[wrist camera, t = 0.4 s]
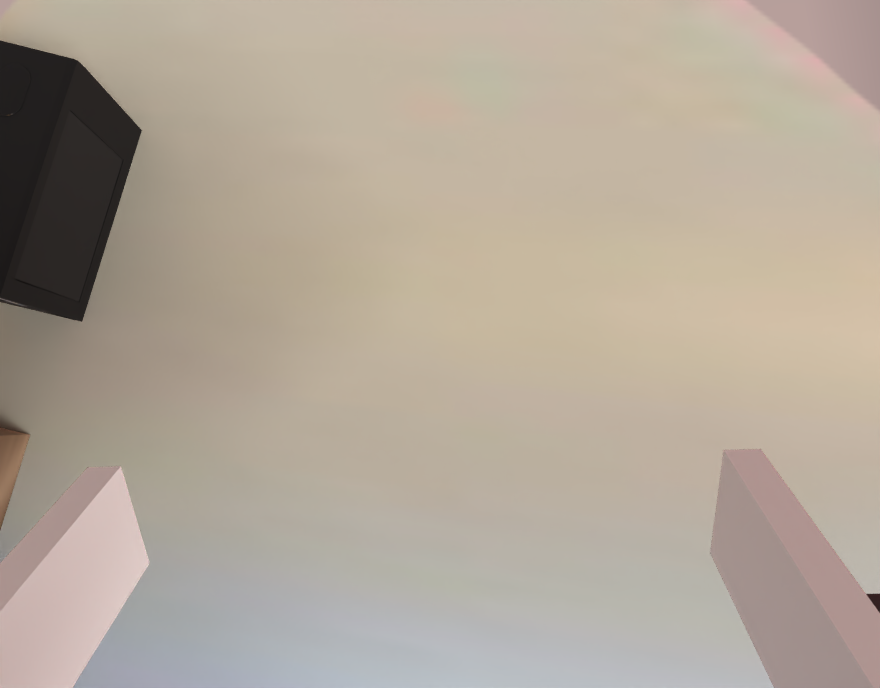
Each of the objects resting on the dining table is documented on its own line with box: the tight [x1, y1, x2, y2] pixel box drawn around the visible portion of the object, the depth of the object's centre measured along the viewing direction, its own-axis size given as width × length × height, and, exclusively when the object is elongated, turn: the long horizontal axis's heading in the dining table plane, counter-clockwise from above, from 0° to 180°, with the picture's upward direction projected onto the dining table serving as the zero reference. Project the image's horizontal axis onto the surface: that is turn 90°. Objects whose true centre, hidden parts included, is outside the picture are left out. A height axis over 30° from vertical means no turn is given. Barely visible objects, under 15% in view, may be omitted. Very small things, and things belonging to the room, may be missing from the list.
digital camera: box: [0, 41, 142, 321], centre depth 30 cm, size 10×5×7 cm, turn 166°
